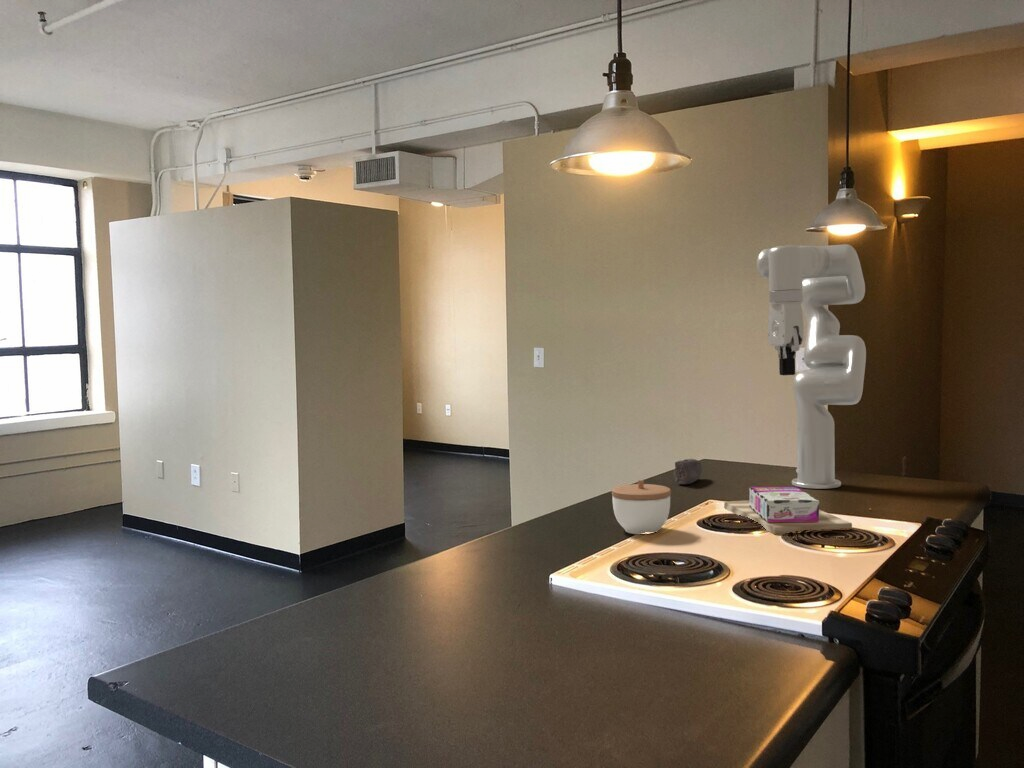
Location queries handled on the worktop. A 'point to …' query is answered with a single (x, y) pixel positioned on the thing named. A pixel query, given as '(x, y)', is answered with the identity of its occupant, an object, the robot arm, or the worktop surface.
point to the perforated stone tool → (687, 471)
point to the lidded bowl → (641, 506)
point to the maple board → (785, 527)
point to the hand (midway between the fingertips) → (787, 374)
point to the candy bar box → (784, 504)
